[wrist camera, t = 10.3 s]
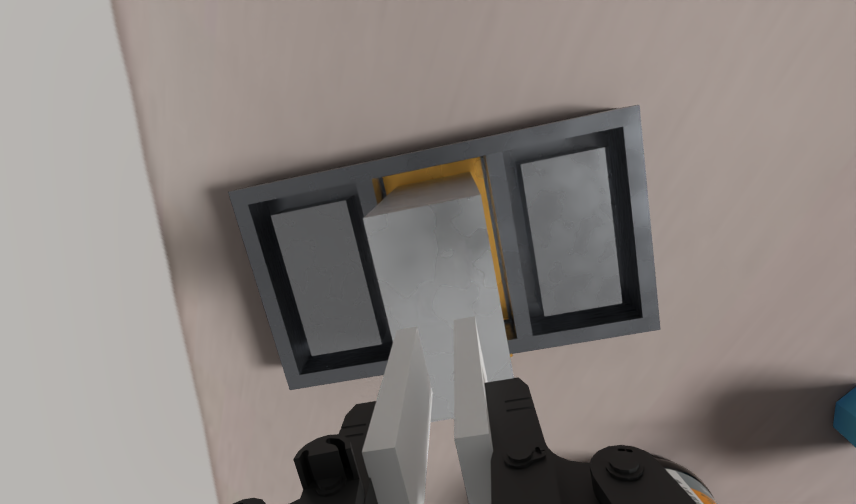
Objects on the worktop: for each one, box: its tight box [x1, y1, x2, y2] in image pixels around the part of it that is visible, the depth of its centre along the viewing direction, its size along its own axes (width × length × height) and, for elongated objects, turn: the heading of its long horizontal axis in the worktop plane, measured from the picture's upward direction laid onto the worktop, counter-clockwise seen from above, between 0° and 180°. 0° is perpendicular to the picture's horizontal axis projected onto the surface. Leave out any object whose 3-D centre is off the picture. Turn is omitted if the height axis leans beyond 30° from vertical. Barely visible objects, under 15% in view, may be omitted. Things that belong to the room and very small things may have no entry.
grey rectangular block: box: [363, 172, 514, 422], centre depth 26 cm, size 10×5×12 cm, turn 12°
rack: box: [228, 105, 660, 390], centre depth 31 cm, size 14×25×4 cm, turn 102°
